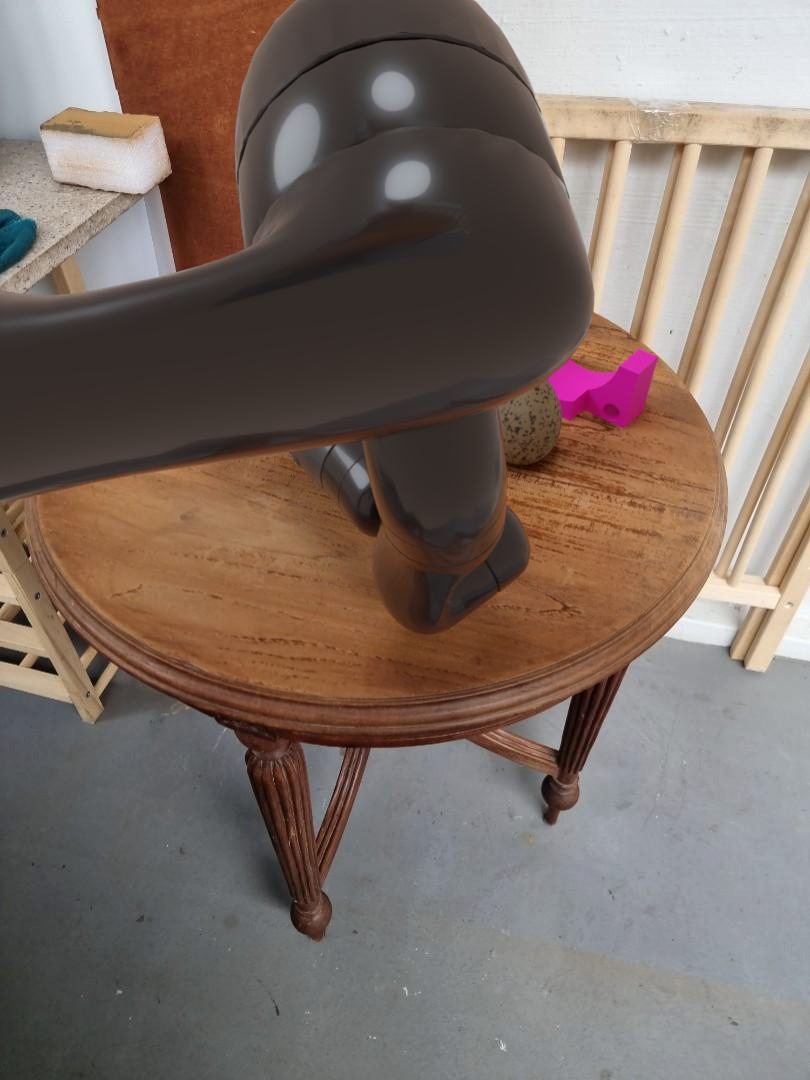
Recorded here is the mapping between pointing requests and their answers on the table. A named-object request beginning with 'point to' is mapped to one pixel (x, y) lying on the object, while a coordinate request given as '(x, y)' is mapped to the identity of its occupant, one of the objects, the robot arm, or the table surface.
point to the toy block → (605, 389)
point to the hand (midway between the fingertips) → (246, 335)
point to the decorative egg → (531, 424)
